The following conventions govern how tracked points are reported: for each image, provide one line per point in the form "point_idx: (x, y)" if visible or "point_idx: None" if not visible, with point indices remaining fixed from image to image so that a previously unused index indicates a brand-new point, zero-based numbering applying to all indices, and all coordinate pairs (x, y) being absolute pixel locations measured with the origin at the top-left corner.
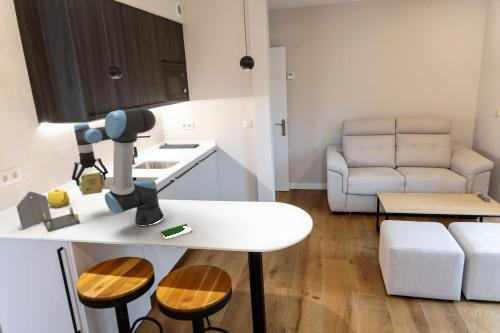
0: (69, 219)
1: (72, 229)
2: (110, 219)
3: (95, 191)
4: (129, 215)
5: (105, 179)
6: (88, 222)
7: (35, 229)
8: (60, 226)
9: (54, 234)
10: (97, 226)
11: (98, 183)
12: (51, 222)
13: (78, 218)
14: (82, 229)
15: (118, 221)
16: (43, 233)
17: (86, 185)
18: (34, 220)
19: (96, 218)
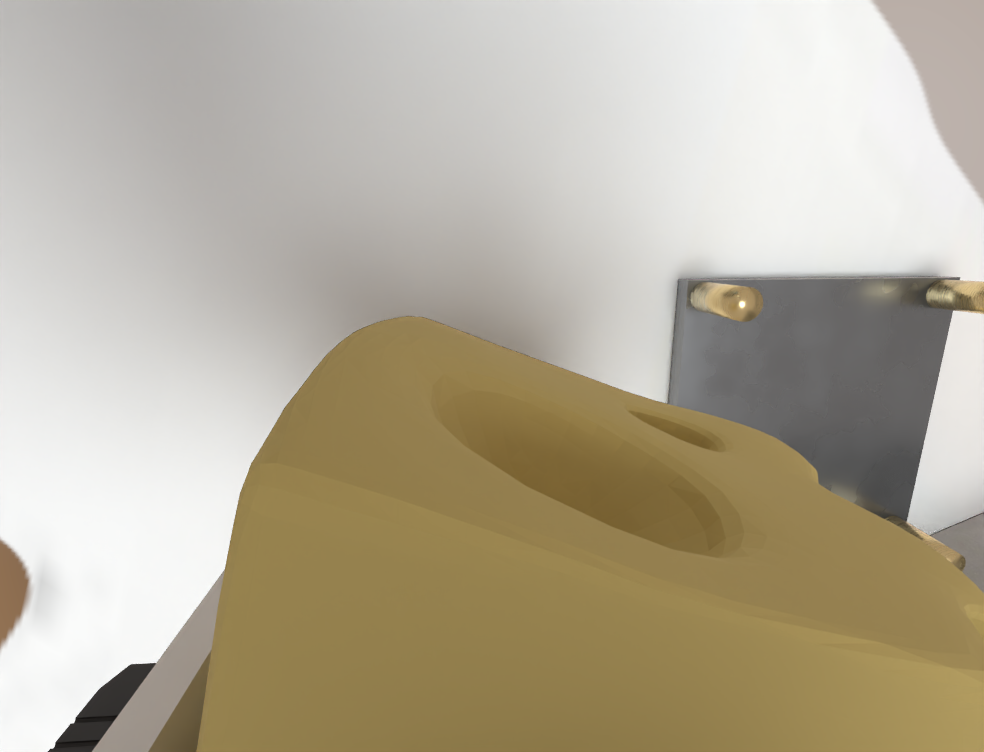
0: (741, 407)
1: (778, 170)
2: (415, 145)
3: (523, 357)
4: (204, 97)
5: (125, 680)
6: (613, 241)
7: (980, 423)
8: (857, 281)
9: (926, 172)
10: (577, 44)
11: (424, 357)
12: (874, 447)
13: (708, 291)
14: (712, 87)
15: (356, 3)
16: (975, 277)
17: (766, 479)
18: (982, 552)
19: (523, 292)
